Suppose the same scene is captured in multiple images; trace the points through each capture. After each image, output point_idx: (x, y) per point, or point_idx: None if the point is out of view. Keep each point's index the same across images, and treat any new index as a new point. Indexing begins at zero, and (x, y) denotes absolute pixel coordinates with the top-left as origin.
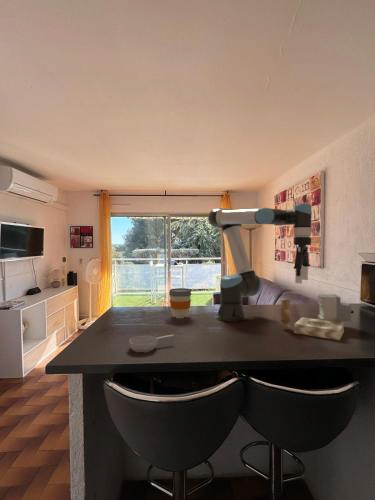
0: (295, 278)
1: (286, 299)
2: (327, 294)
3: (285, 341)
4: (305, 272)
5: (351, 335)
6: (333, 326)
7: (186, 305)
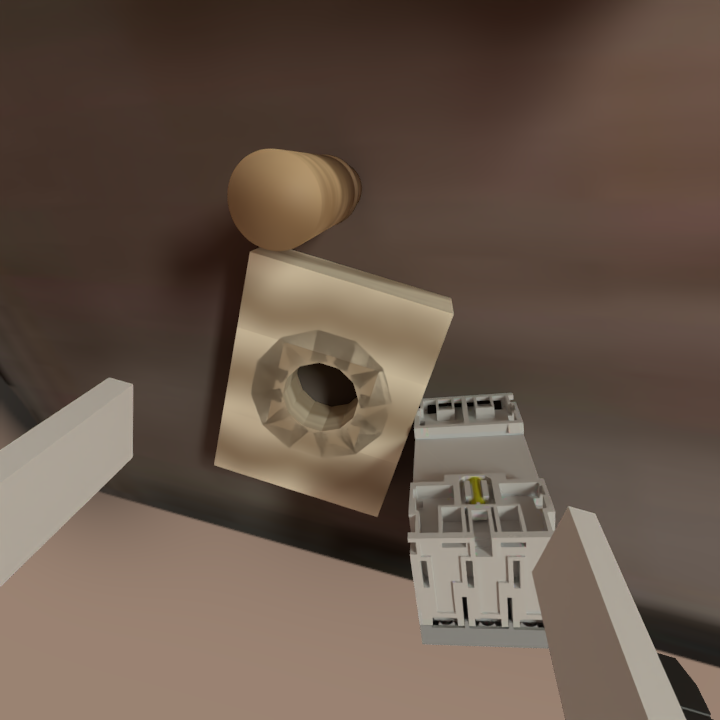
0: (56, 414)
1: (269, 213)
2: None
3: (97, 191)
4: (578, 679)
5: None
6: (282, 456)
7: None
